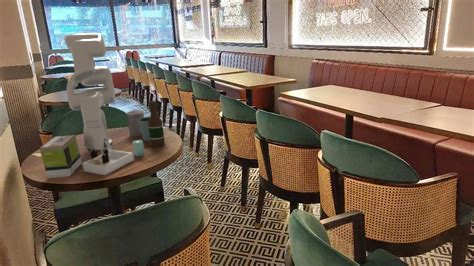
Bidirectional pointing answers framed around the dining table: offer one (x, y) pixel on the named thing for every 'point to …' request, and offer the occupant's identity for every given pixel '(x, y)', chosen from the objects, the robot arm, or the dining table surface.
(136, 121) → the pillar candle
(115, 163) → the white tray
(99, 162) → the maple cube
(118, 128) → the dining table surface
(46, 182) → the dining table surface
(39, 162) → the dining table surface
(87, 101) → the robot arm
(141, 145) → the teal cylinder
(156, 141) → the beer bottle
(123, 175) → the dining table surface
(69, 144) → the tea box
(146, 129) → the drinking glass
